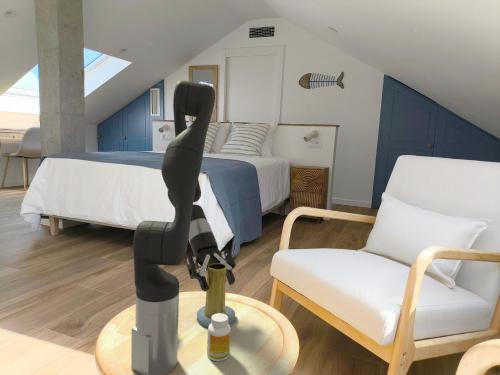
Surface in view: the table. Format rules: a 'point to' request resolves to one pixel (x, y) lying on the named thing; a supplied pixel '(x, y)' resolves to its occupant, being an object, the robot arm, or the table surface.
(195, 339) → the table surface
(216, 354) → the supplement bottle
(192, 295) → the table surface
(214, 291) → the vase
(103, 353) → the table surface
